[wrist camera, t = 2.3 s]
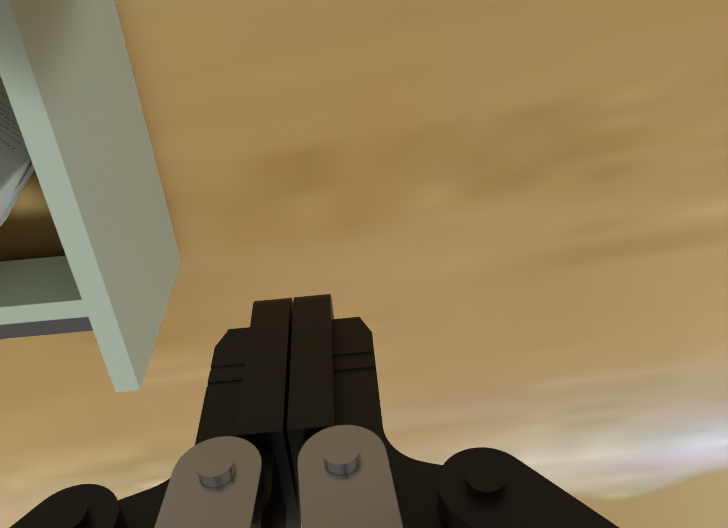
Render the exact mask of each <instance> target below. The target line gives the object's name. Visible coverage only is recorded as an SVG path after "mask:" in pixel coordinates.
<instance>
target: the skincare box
mask: <svg viewBox="0 0 728 528" xmlns="http://www.w3.org/2000/svg"><path fill="white" fill-rule="evenodd" d="M34 170H35V169H34V166H33V163H32V161H31V158H30V155H29V152H28V150H27V147H26V144H25V141H24V139H23V136H22V133H21V130H20V128H19V125H18V122H17V119H16V117H15V114H14V111H13V108H12V106H11V103H10V100H9V97H8V95H7V92H6V89H5V86H4V84H3V81H2V78H1V75H0V226H1V225H2V224H3V222H4V221H5V220H6V219H7V217H8V216H9V214H10V212H11V210H12V208H13V206H14V204H15V202H16V200H17V199H18V197H19V195H20V193H21V192H22V190H23V188H24V187H25V185H26V183H27V182H28V180H29V178H30V177H31V175H32V173H33V172H34Z"/></svg>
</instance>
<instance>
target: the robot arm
mask: <svg viewBox="0 0 728 528" xmlns="http://www.w3.org/2000/svg"><path fill="white" fill-rule="evenodd" d="M301 523H302V528H619V527H617V526H616V525H614V524H613V523H611V522H610V521H608V520H607V519H605V518H604V517H603V516H601V515H600V514H598V513H597V512H595V511H594V510H592V509H591V508H589V507H588V506H586V505H585V504H583V503H582V502H580V501H579V500H577V499H576V498H574V497H573V496H571V495H570V494H568V493H567V492H565V491H564V490H563V489H561V488H560V487H558V486H557V485H555V484H554V483H552V482H551V481H549V480H548V479H546V478H545V477H543V476H542V475H540V474H539V473H537V472H536V471H534V470H533V469H531V468H530V467H528V466H527V465H525V464H524V463H523V462H521V461H520V460H518V459H517V458H515V457H513V456H512V455H510V454H508V453H506V452H503V451H501V450H497V449H493V448H470V449H466V450H463V451H461V452H458V453H456V454H455V455H453V456H452V457H450V458H449V459H448V460H447V461H446V462H445V463H444V465H438V464H432V463H427V462H422V461H418V460H415V459H412V458H409V457H407V456H405V455H403V454H402V453H400V452H399V451H397V450H396V449H395V448H394V447H393V446H392V445H391V444H390V443H389V441H388V440H387V438H386V436H385V434H384V430H383V425H382V416H381V407H380V399H379V390H378V381H377V373H376V364H375V355H374V347H373V338H372V332H371V331H370V329H369V328H368V327H367V326H366V325H365V323H364V322H363V321H362V320H361V318H360V317H353V318H342V319H334V315H333V307H332V299H331V294H326V295H315V296H304V297H294V300H293V301H292V298H285V299H274V300H263V301H254V303H253V310H252V317H251V324H250V327H248V328H238V329H229V330H228V331H227V333H226V334H225V335H224V336H223V338H222V339H221V340H220V341H219V343H218V344H217V345H216V346H215V349H214V354H213V359H212V364H211V371H210V374H209V379H208V387H207V388H206V393H205V398H204V403H203V408H202V413H201V418H200V423H199V428H198V433H197V438H196V443H195V446H194V447H192V448H190V449H189V450H188V451H187V452H186V453H184V454H183V456H182V457H181V458H180V459H179V460H178V462H177V463H176V465H175V467H174V469H173V472H172V475H171V478H170V479H168V480H167V481H165V482H163V483H161V484H160V485H158V486H155V487H153V488H151V489H148V490H145V491H143V492H140V493H137V494H134V495H132V496H129V497H126V498H123V499H121V500H117V498H116V496H115V495H114V493H113V492H111V491H110V490H109V489H107V488H105V487H104V486H100V485H96V484H81V485H76V486H72V487H69V488H66V489H63V490H61V491H59V492H57V493H55V494H53V495H51V496H50V497H48V498H47V499H45V500H44V501H43V502H41V503H40V504H39V505H37V506H36V507H35V508H34V509H32V510H31V511H30V512H29V513H27V514H26V515H25V516H24V517H22V518H21V519H20V520H19V521H17V522H16V523H15V524H14V525H12V526H11V527H10V528H301Z"/></svg>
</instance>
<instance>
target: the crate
mask: <svg viewBox="0 0 728 528" xmlns="http://www.w3.org/2000/svg"><path fill="white" fill-rule="evenodd" d="M0 75H1V78H2V81H3V84H4V86H5V89H6V92H7V95H8V97H9V100H10V103H11V106H12V108H13V111H14V114H15V117H16V119H17V122H18V125H19V128H20V130H21V133H22V136H23V139H24V141H25V144H26V147H27V150H28V152H29V155H30V158H31V161H32V163H33V166H34V169H35V172H36V174H37V177H38V180H39V183H40V185H41V188H42V191H43V194H44V196H45V199H46V202H47V205H48V207H49V210H50V213H51V216H52V218H53V221H54V224H55V227H56V229H57V232H58V235H59V238H60V240H61V243H62V246H63V249H64V251H65V254H66V256H56V257H45V258H34V259H23V260H12V261H1V262H0V325H3V324H14V323H25V322H36V321H47V320H57V319H68V318H79V317H89V320H90V323H91V326H92V328H93V331H94V334H95V337H96V339H97V342H98V345H99V348H100V350H101V353H102V356H103V359H104V361H105V364H106V367H107V370H108V372H109V375H110V378H111V381H112V383H113V386H114V389H115V392H126V391H136V390H140V389H141V386H142V382H143V379H144V376H145V373H146V370H147V367H148V364H149V361H150V357H151V354H152V351H153V348H154V345H155V342H156V339H157V335H158V332H159V329H160V326H161V323H162V320H163V317H164V313H165V310H166V307H167V304H168V301H169V298H170V295H171V291H172V288H173V285H174V282H175V279H176V276H177V273H178V270H179V266H180V263H181V259H180V255H179V251H178V248H177V244H176V240H175V236H174V232H173V228H172V224H171V220H170V216H169V212H168V209H167V205H166V201H165V197H164V193H163V189H162V185H161V181H160V177H159V174H158V170H157V166H156V162H155V158H154V154H153V150H152V146H151V142H150V138H149V135H148V131H147V127H146V123H145V119H144V115H143V111H142V107H141V103H140V99H139V96H138V92H137V88H136V84H135V80H134V76H133V72H132V68H131V64H130V61H129V57H128V53H127V49H126V45H125V41H124V37H123V33H122V29H121V25H120V22H119V18H118V14H117V10H116V6H115V2H114V0H0Z"/></svg>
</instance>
